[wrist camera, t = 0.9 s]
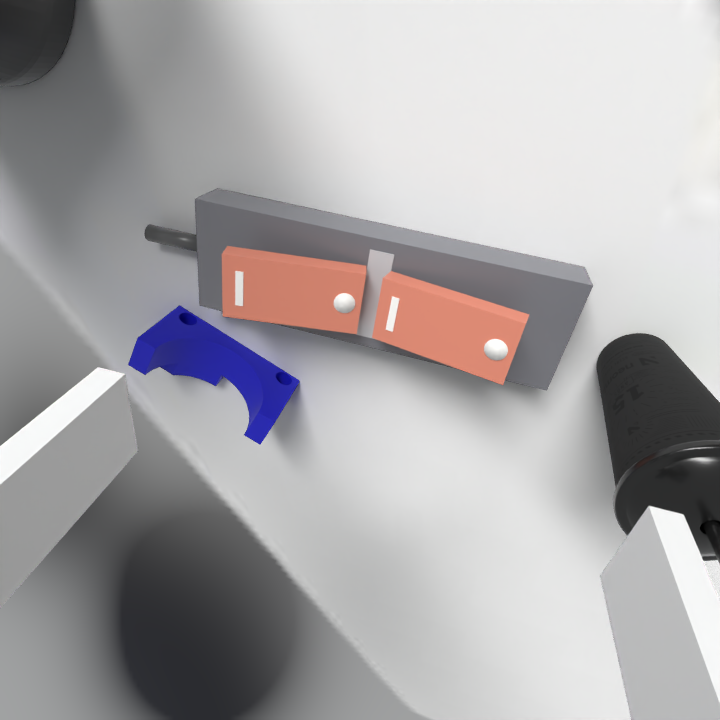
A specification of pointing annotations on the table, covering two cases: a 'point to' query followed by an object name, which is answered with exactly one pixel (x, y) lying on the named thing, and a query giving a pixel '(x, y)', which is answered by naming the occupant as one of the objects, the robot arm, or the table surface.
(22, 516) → the robot arm
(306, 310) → the rocker
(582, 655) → the table surface
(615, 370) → the drinking cup
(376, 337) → the rocker
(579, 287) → the power strip
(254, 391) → the cable clip
